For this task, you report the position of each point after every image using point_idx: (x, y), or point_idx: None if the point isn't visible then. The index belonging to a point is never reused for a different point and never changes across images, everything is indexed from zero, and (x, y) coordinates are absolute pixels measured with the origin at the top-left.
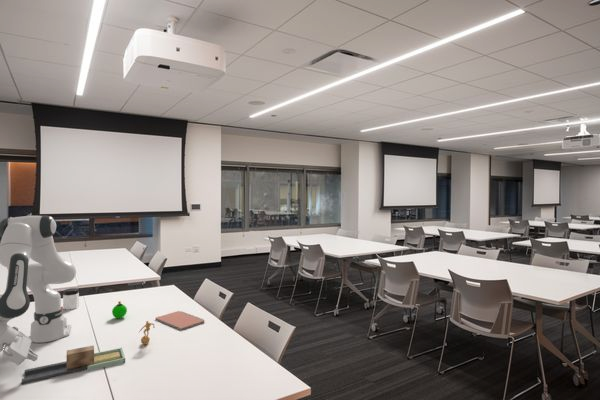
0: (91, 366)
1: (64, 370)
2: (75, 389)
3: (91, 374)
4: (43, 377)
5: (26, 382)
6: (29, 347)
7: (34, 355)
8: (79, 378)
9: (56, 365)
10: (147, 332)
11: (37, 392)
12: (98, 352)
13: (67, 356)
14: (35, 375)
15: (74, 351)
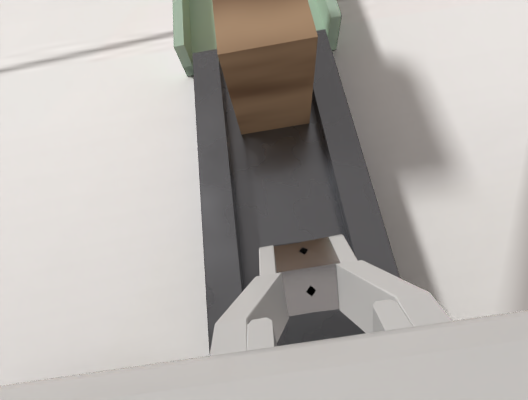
0: (337, 9)
1: (332, 117)
2: (496, 66)
3: (350, 37)
4: (379, 215)
5: None
6: (281, 349)
7: (342, 258)
8: (378, 73)
9: (229, 176)
10: None
11: (497, 226)
12: (174, 8)
13: (315, 44)
14: None
15: (268, 4)
